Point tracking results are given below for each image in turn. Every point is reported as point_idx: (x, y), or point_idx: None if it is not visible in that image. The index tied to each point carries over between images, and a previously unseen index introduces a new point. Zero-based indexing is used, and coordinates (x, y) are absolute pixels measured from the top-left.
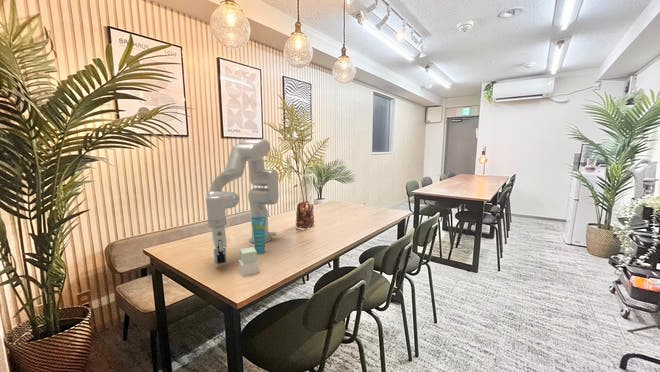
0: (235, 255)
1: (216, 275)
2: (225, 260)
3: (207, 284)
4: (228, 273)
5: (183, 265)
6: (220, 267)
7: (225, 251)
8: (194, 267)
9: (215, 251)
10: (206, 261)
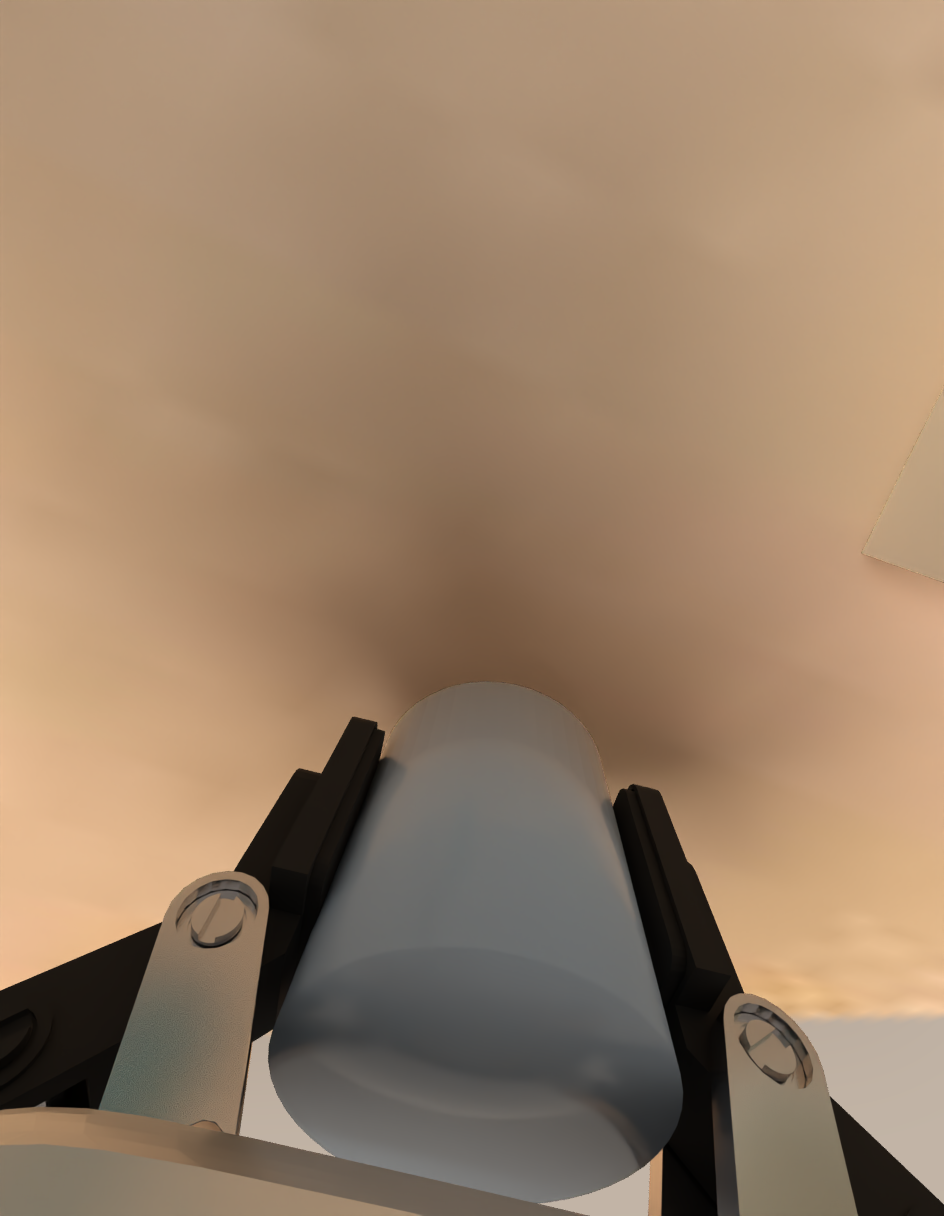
0: (110, 301)
1: (729, 864)
2: (591, 754)
3: (881, 1010)
4: (820, 734)
5: None
6: None
7: (609, 919)
8: None
9: (538, 1195)
10: (139, 781)
